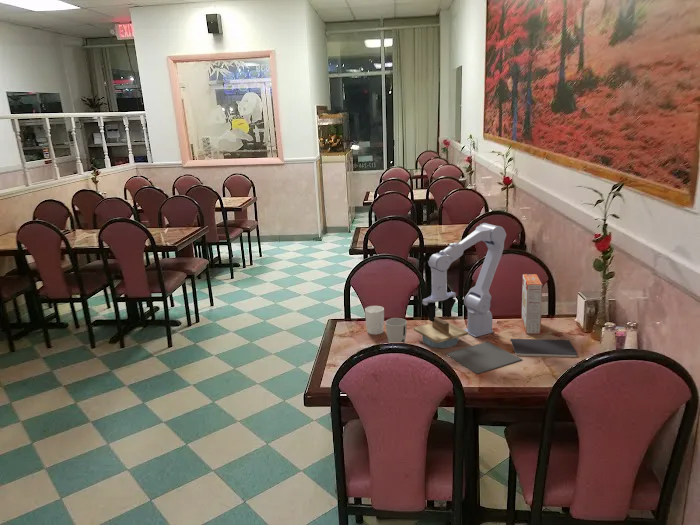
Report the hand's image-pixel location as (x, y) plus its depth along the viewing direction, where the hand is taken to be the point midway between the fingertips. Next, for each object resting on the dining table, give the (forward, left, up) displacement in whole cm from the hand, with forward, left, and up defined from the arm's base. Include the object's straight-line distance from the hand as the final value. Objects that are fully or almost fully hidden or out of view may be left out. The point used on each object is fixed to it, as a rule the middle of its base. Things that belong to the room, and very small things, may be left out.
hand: (439, 318), depth 195 cm
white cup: (+17, -22, -10) cm, 29 cm away
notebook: (-27, +26, -10) cm, 39 cm away
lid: (0, 0, -6) cm, 6 cm away
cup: (+17, -5, -10) cm, 20 cm away
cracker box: (-38, +9, -10) cm, 41 cm away
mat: (-4, +20, -9) cm, 22 cm away
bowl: (0, 0, -9) cm, 9 cm away
